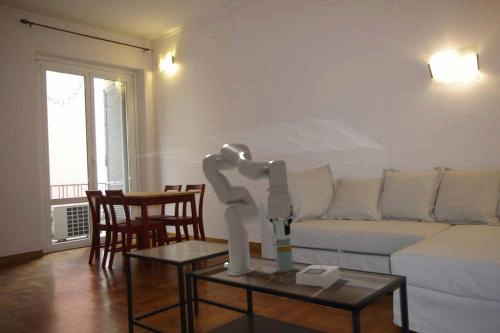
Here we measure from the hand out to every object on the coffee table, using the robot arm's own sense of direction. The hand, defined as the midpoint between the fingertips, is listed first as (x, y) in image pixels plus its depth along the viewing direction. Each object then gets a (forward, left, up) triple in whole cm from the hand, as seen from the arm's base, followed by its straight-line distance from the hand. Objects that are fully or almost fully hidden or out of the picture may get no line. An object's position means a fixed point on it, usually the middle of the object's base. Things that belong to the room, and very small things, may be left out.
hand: (282, 234), depth 160 cm
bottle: (-8, +16, -20) cm, 27 cm away
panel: (+13, +4, -20) cm, 24 cm away
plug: (0, 0, -4) cm, 4 cm away
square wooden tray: (-2, 0, -20) cm, 20 cm away
